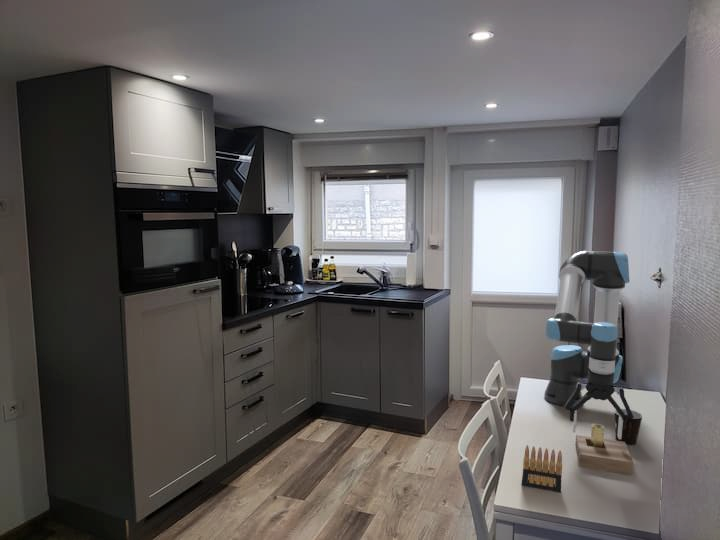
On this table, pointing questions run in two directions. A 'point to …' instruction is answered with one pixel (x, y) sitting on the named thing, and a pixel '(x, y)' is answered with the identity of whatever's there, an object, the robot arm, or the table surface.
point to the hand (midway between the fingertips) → (596, 434)
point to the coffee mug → (629, 427)
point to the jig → (604, 455)
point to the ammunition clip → (542, 470)
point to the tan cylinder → (597, 435)
